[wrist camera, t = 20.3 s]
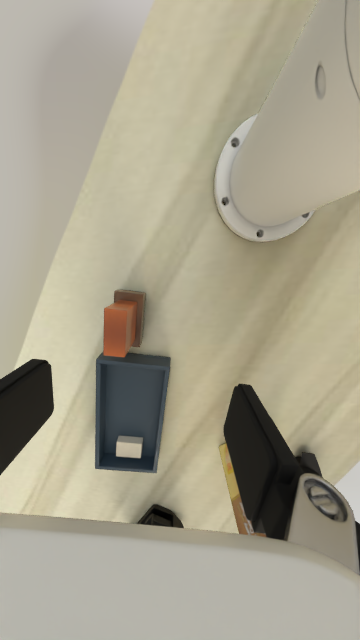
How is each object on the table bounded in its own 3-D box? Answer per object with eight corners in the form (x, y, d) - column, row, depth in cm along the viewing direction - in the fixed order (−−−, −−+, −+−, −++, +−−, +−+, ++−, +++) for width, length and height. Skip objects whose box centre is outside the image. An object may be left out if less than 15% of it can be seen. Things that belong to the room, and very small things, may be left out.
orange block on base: (120, 288, 24) (97, 296, 17) (146, 292, 25) (134, 301, 17) (118, 337, 26) (96, 363, 19) (142, 340, 26) (130, 367, 19)
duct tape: (263, 477, 34) (271, 495, 31) (301, 441, 32) (313, 458, 29) (293, 493, 35) (303, 512, 33) (331, 460, 33) (346, 478, 30)
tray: (104, 350, 27) (96, 359, 24) (170, 357, 27) (170, 366, 24) (101, 451, 32) (95, 468, 29) (158, 456, 32) (156, 473, 29)
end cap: (160, 542, 38) (156, 598, 32) (130, 531, 37) (120, 586, 31) (186, 514, 36) (188, 568, 30) (155, 501, 35) (150, 554, 29)
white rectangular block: (118, 435, 30) (116, 441, 29) (143, 437, 30) (142, 444, 29) (118, 449, 31) (115, 456, 30) (141, 451, 31) (140, 458, 30)
